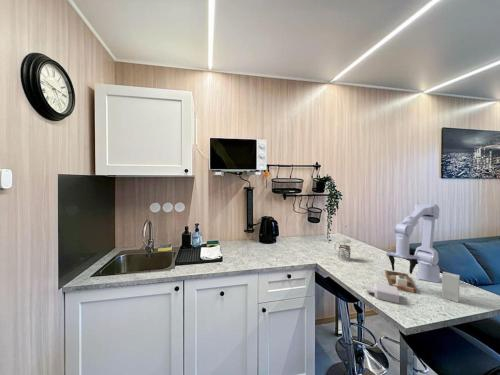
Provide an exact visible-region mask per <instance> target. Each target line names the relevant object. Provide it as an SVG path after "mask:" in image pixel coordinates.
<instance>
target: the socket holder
mask: <svg viewBox="0 0 500 375" xmlns="http://www.w3.org/2000/svg"><path fill="white" fill-rule="evenodd" d="M384 273H385V276H386V280H387V282H388V285H390V286H395V287H397V289H398V291H403V292H408V293H413V294H417V288H416V287H415V285H414V283H413V282H412V279H411V278H410V276H409V274H408V273H405V272H399V271H395V270H394V271H393V270H388V269H385V270H384ZM396 275H398V276H399V275H402V276H404V277H405V278H406V279H407V287H405V286H400V285H396Z"/></svg>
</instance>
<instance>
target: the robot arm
mask: <svg viewBox="0 0 500 375" xmlns="http://www.w3.org/2000/svg"><path fill="white" fill-rule="evenodd" d="M439 216H440V207H439V205H438V204H435V203H434V204H433V203H432V204H431V203H421V202H417V203H416V204H415V205H414V211H413V212H412V213H411V215H407V216H406V217H405V218H404V219H403V220H401V222H400V223H399V222H398V223H396V224H395V225H394V228H393V230H394V233H395V235H394V236H395V237H396V242H395V243H396V244H395V252H394V251H393V252H392V251H391V252H390V251H386V252H385V257H388V259H389V262H390V264H391V271H394V272H395V260H396V259H395V258H398V259H405V260H409V271H408V272H409V274H410V275H411V274H412V275H413V271H414V269H415V267H416V266H417V273H415V275H416V277H417V279H418V280H422V281H427V282H435V283H441V281H440V279H441V278H440V274H441V271H440V266H439V265H438V263H439V252H438V251H437V250H436V249H435V248H434V247H433V245H434V235H435V224H436V220H438V219H439ZM420 218H422V219H423V227H422V236H421V245H419V246H417V247H416V249H415V251H414V254H413V255H412V254H410V243H411V241H410V238H411V236H412V235H413V231H414V228H415V227H416V226H417V225H418V224H419V219H420Z"/></svg>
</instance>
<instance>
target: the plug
mask: <svg viewBox="0 0 500 375" xmlns="http://www.w3.org/2000/svg"><path fill="white" fill-rule="evenodd" d="M395 277H396V283H395V285H400V286H405V287H408V286H407V279H406V278H405V277H404V276H402V275H399V276H398V275H396V276H395Z"/></svg>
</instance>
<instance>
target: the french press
mask: <svg viewBox="0 0 500 375" xmlns="http://www.w3.org/2000/svg"><path fill="white" fill-rule="evenodd" d="M343 227H344V228H347V224H343ZM340 242H341V243H344V244H340ZM346 243H347V244H346ZM348 243H349V244H350V243H352V241H351V239H349V238H346V237H344V238H343V237H342V238H339V239H338V241H337V244H338V245H339V247H338V250H337V249H336V246H337V244H334V250H335V251H336V252H337V257H336V259H337V260H338V261H340V262H344V263H350V262H352V261H353V260H352V259H351V246H350V245H348Z"/></svg>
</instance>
